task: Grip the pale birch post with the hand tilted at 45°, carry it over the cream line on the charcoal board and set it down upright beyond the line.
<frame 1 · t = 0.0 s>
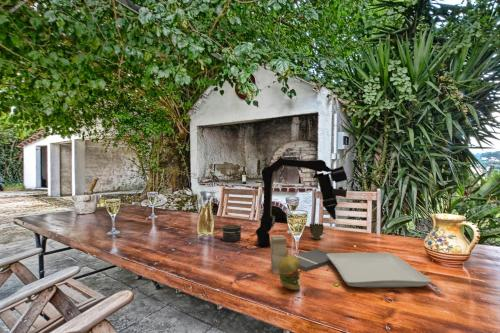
hand: (334, 217, 129), 15 cm above the table, tool pointing down, fingers open, 9 cm apart
birch post: (278, 270, 105), on the table
hamburger: (289, 289, 90), on the table
cup: (316, 239, 149), on the table
jar: (231, 240, 149), on the table
charcoal board: (311, 261, 115), on the table
square plate: (372, 275, 100), on the table, touching charcoal board
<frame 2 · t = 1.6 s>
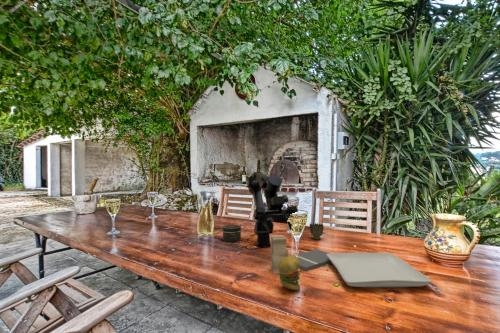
hand: (280, 230, 113), 14 cm above the table, tool tilted 40°, fingers open, 9 cm apart
nothing on the table moved.
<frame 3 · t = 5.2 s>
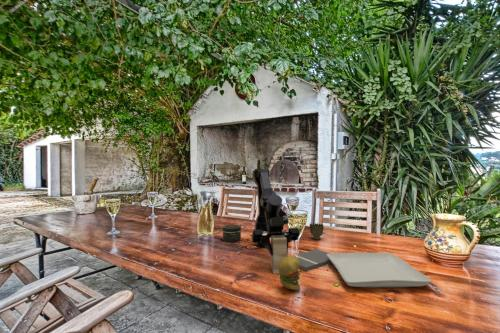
hand: (279, 254, 104), 7 cm above the table, tool tilted 45°, fingers closed on birch post, 5 cm apart
birch post: (278, 270, 105), on the table, touching gripper
everything else where it was.
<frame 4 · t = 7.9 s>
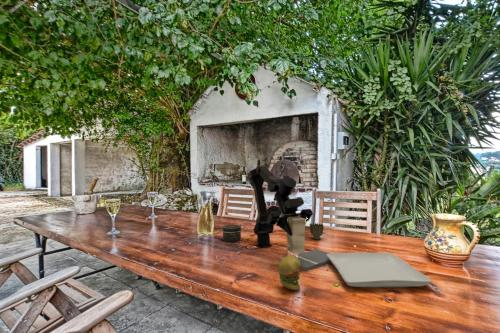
hand: (297, 234, 106), 13 cm above the table, tool tilted 45°, fingers closed on birch post, 5 cm apart
birch post: (295, 250, 108), point 7 cm above the table, touching gripper
everything else where it was.
when the fingers open (10 cm above the table, at t = 10.9 s): birch post drops 1 cm, resting on charcoal board.
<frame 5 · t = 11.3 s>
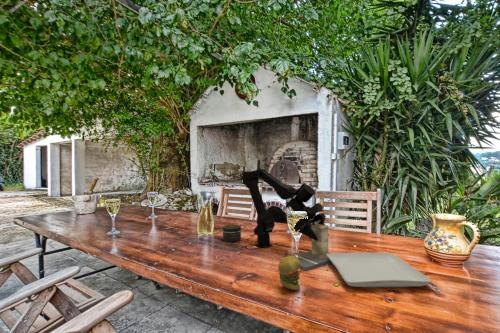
hand: (322, 237, 116), 10 cm above the table, tool tilted 45°, fingers open, 9 cm apart
birch post: (320, 256, 117), point 1 cm above the table, touching charcoal board
everything else where it was.
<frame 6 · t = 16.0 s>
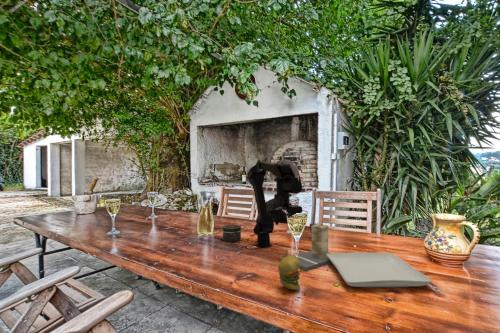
hand: (283, 226, 122), 13 cm above the table, tool pointing down, fingers open, 9 cm apart
nothing on the table moved.
at the end: birch post inside the target area (0.5 cm from its centre), point 1.5 cm above the table; birch post tilted 0°; the gripper is holding nothing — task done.
